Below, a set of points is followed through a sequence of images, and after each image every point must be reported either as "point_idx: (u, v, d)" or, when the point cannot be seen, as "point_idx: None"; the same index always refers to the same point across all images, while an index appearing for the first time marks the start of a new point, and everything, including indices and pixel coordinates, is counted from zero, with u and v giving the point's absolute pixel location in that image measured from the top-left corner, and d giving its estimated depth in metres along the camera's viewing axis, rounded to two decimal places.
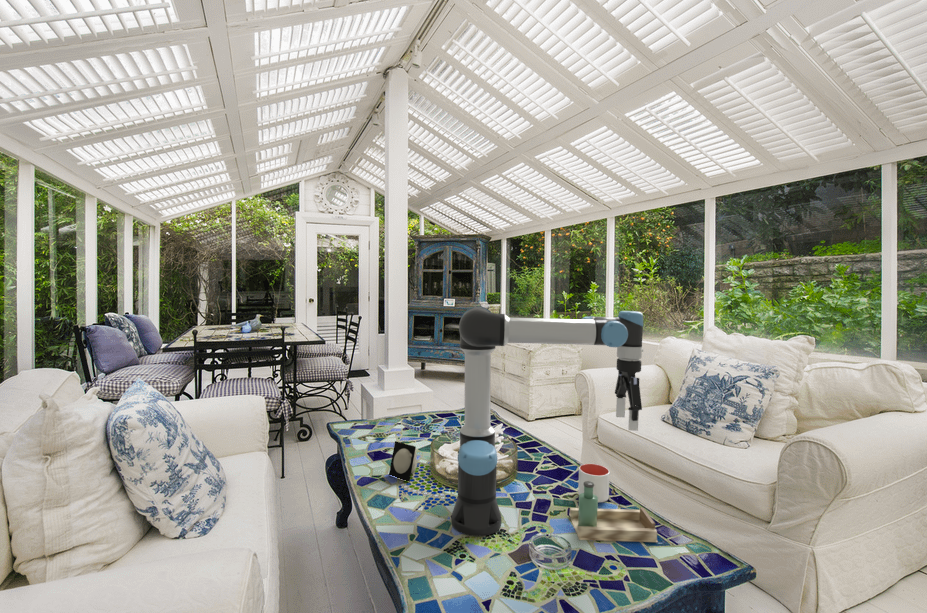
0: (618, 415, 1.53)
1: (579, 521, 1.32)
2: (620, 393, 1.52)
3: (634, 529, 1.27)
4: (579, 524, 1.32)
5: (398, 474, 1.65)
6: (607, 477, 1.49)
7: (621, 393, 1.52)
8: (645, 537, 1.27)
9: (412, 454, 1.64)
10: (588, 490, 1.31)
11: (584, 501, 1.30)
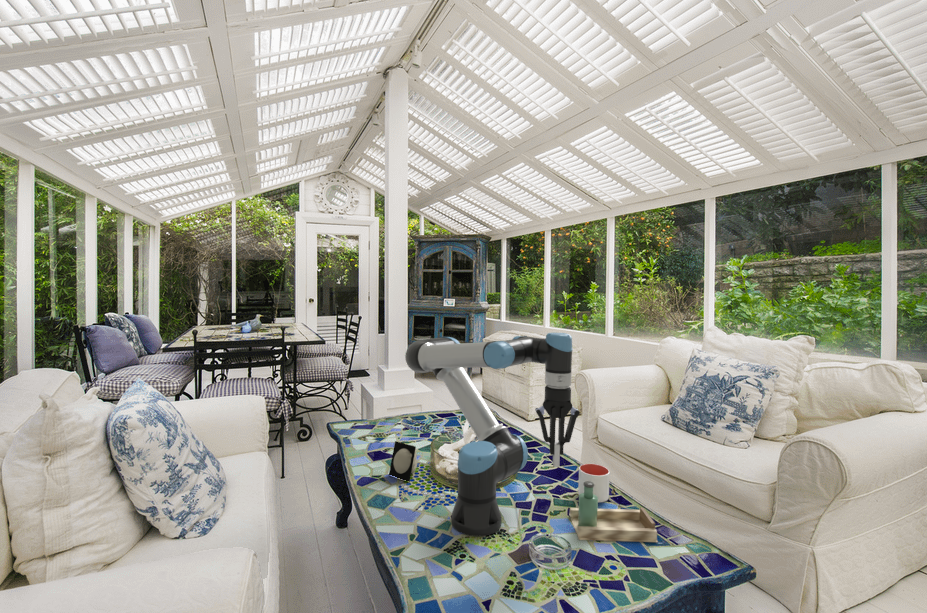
0: None
1: (579, 521, 1.32)
2: (558, 433, 1.32)
3: (634, 529, 1.27)
4: (579, 524, 1.32)
5: (398, 474, 1.65)
6: (607, 477, 1.49)
7: (559, 434, 1.32)
8: (645, 537, 1.27)
9: (412, 454, 1.64)
10: (588, 490, 1.31)
11: (584, 501, 1.30)
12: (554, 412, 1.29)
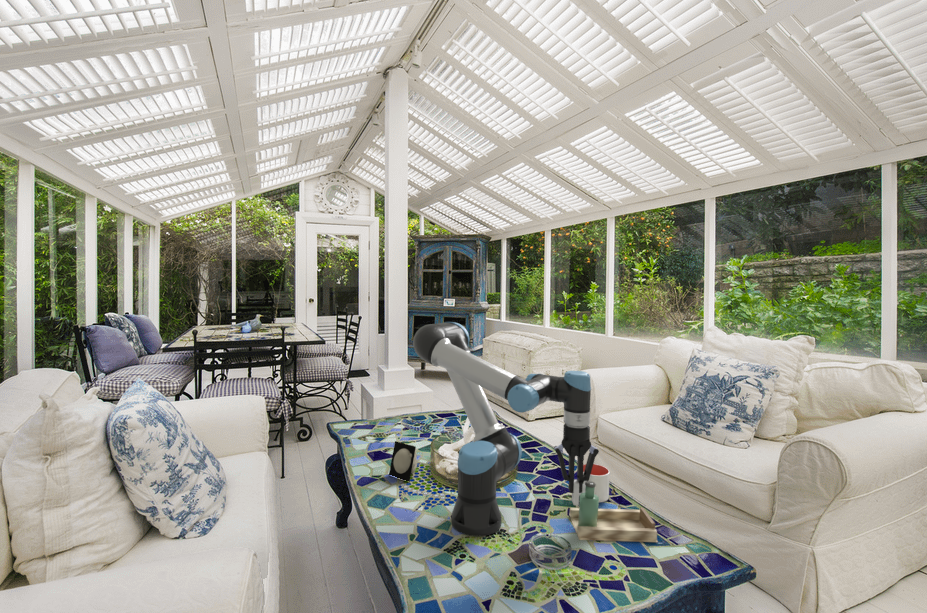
0: None
1: (579, 520, 1.32)
2: (577, 471, 1.32)
3: (634, 529, 1.27)
4: (579, 523, 1.32)
5: (398, 474, 1.65)
6: (607, 477, 1.49)
7: (578, 472, 1.32)
8: (645, 537, 1.27)
9: (412, 454, 1.64)
10: (589, 490, 1.31)
11: (585, 501, 1.30)
12: (573, 451, 1.30)
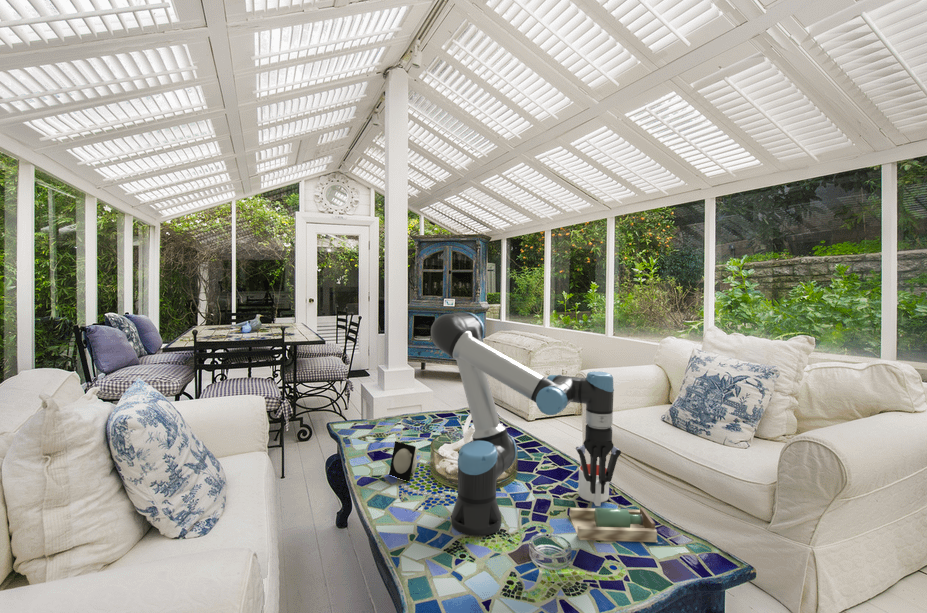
0: None
1: (603, 510, 1.32)
2: (599, 472, 1.32)
3: (634, 529, 1.27)
4: (600, 510, 1.32)
5: (398, 474, 1.65)
6: None
7: (599, 473, 1.32)
8: (645, 537, 1.27)
9: (412, 454, 1.64)
10: (637, 520, 1.31)
11: (628, 516, 1.30)
12: (595, 452, 1.30)
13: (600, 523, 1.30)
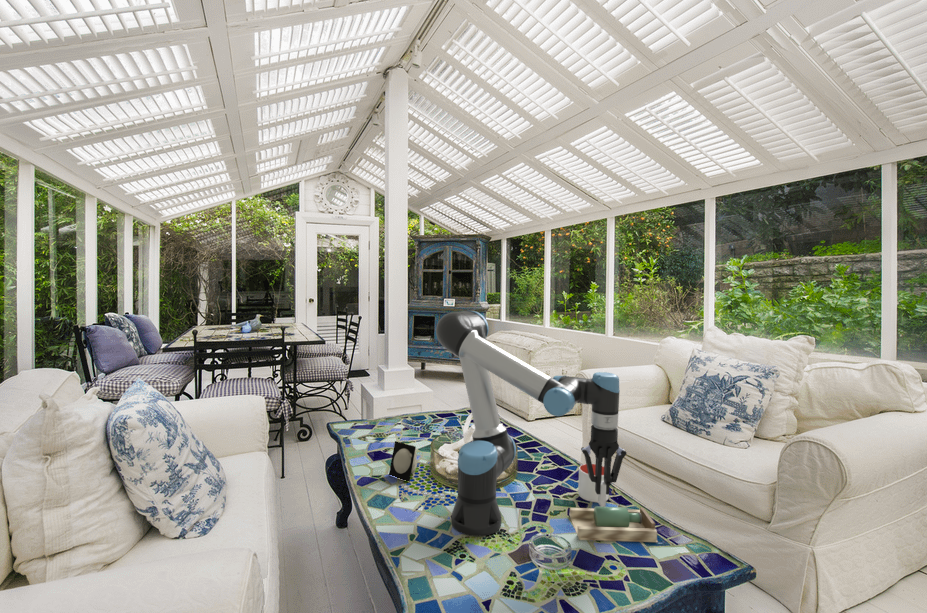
0: None
1: (602, 507, 1.34)
2: (604, 473, 1.33)
3: (634, 529, 1.27)
4: (599, 507, 1.34)
5: (398, 474, 1.65)
6: None
7: (604, 473, 1.32)
8: (645, 537, 1.27)
9: (412, 454, 1.64)
10: (636, 517, 1.32)
11: (627, 512, 1.32)
12: (601, 452, 1.30)
13: (599, 518, 1.31)
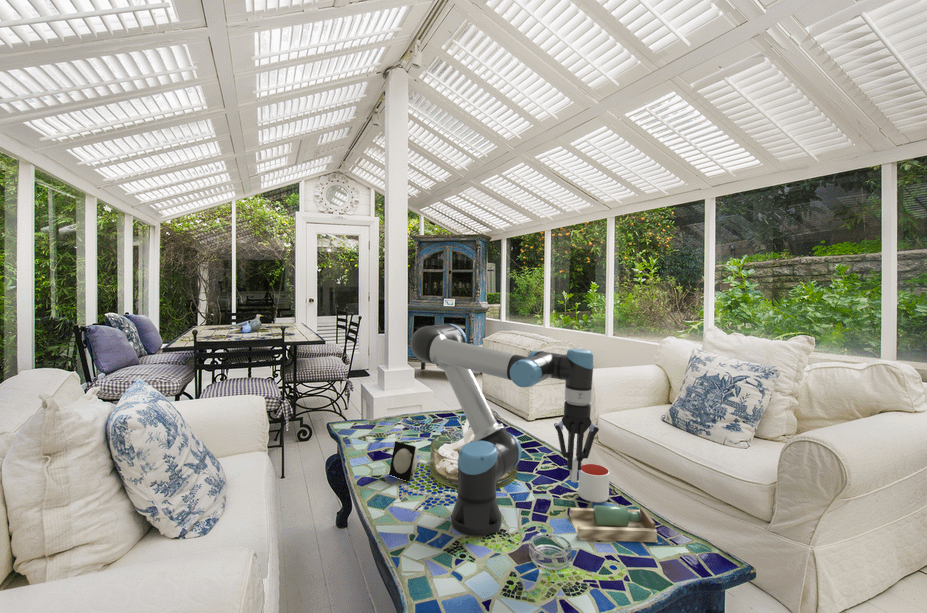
0: None
1: None
2: (576, 449, 1.33)
3: (634, 529, 1.27)
4: (597, 505, 1.35)
5: (398, 474, 1.65)
6: (607, 477, 1.49)
7: (577, 449, 1.32)
8: (645, 537, 1.27)
9: (412, 454, 1.64)
10: (635, 515, 1.33)
11: (625, 509, 1.33)
12: (573, 428, 1.30)
13: (599, 515, 1.32)
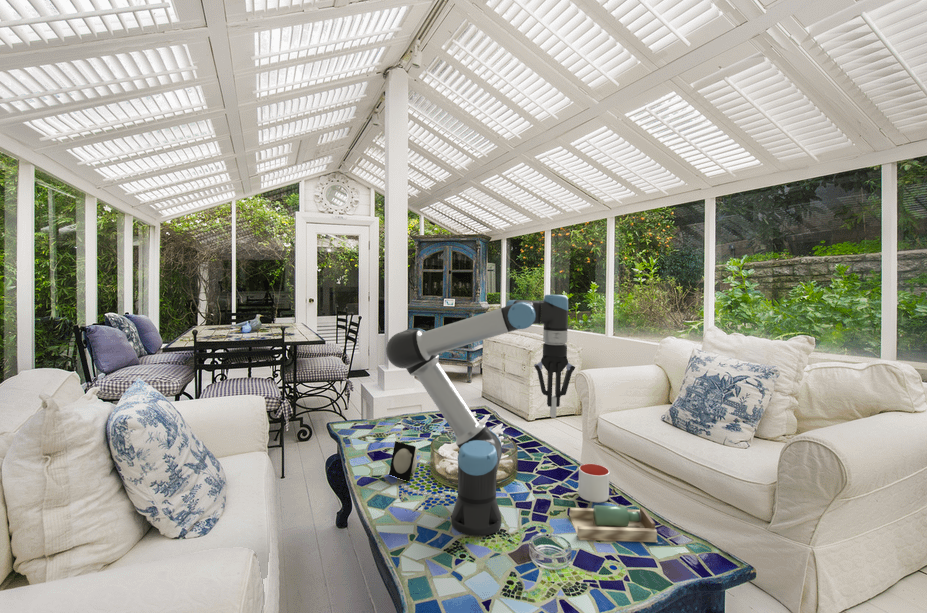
0: None
1: None
2: (555, 387, 1.43)
3: (634, 529, 1.27)
4: (598, 505, 1.35)
5: (398, 474, 1.65)
6: (607, 477, 1.49)
7: (555, 387, 1.43)
8: (645, 537, 1.27)
9: (412, 454, 1.64)
10: (635, 514, 1.33)
11: (625, 509, 1.33)
12: (551, 367, 1.41)
13: (599, 515, 1.32)
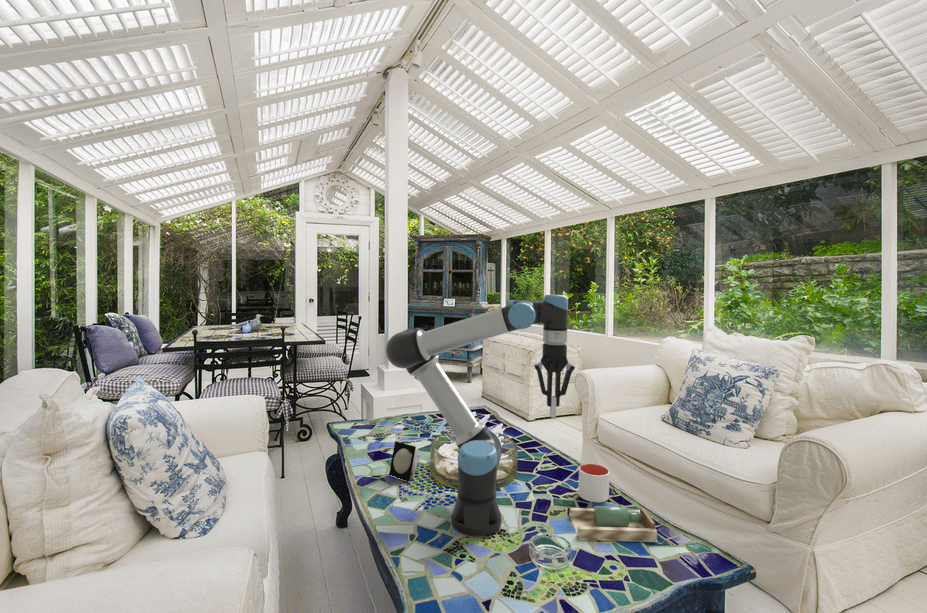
0: None
1: (601, 506, 1.34)
2: (555, 387, 1.44)
3: (634, 529, 1.27)
4: (598, 506, 1.34)
5: (398, 474, 1.65)
6: (607, 477, 1.49)
7: (555, 387, 1.43)
8: (645, 537, 1.27)
9: (412, 454, 1.64)
10: (636, 516, 1.33)
11: (626, 511, 1.32)
12: (551, 367, 1.41)
13: (599, 517, 1.31)
